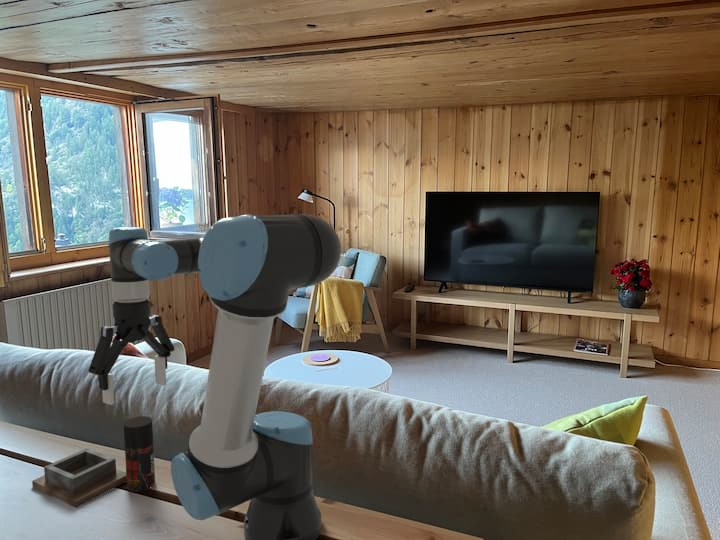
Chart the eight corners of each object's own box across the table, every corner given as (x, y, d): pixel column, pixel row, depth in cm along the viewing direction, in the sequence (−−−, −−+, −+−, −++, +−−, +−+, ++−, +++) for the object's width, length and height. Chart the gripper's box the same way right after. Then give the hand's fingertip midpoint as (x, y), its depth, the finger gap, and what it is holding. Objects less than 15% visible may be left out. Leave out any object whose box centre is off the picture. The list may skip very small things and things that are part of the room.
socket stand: (129, 479, 126) (128, 459, 125) (76, 507, 115) (74, 485, 114) (86, 462, 134) (85, 443, 133) (32, 487, 123) (30, 466, 122)
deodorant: (128, 479, 126) (124, 418, 124) (155, 476, 128) (152, 415, 126) (125, 493, 120) (121, 428, 118) (154, 489, 122) (151, 425, 120)
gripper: (165, 288, 130) (169, 373, 134) (65, 307, 109) (72, 408, 112) (187, 291, 127) (191, 379, 130) (88, 311, 105) (95, 416, 108)
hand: (136, 393), depth 121 cm, fingers open, 13 cm apart
